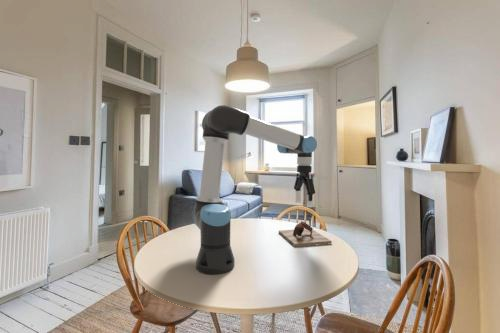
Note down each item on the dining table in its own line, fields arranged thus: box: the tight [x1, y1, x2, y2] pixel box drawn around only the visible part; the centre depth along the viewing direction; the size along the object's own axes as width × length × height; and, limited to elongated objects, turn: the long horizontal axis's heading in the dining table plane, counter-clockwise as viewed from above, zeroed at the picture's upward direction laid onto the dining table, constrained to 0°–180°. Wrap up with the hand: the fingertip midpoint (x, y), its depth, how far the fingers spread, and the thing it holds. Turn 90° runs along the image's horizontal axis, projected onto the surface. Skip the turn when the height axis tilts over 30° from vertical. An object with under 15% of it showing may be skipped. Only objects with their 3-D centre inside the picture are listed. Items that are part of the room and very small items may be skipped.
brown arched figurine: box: [293, 220, 314, 237], centre depth 127 cm, size 12×10×8 cm
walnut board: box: [278, 228, 332, 248], centre depth 128 cm, size 22×20×2 cm
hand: (303, 204), depth 127 cm, fingers open, 13 cm apart
